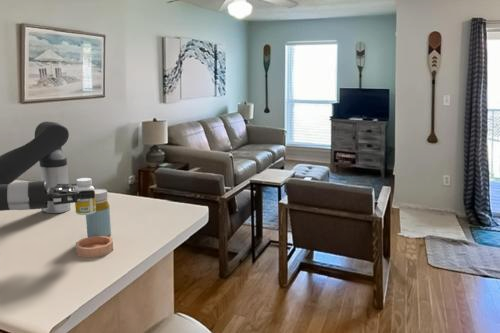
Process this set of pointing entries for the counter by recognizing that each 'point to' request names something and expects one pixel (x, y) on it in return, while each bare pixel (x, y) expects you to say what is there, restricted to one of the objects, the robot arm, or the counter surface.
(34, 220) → the counter surface
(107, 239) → the terracotta dish
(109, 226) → the bottle
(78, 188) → the supplement bottle
